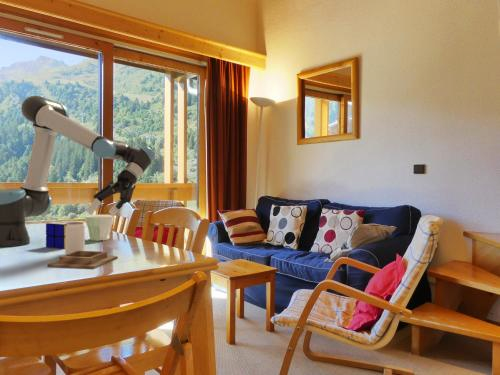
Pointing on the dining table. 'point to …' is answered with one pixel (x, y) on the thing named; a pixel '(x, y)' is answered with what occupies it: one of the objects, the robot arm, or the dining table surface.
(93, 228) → the cup
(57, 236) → the puzzle cube
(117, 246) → the dining table surface
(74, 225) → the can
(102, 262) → the holder
